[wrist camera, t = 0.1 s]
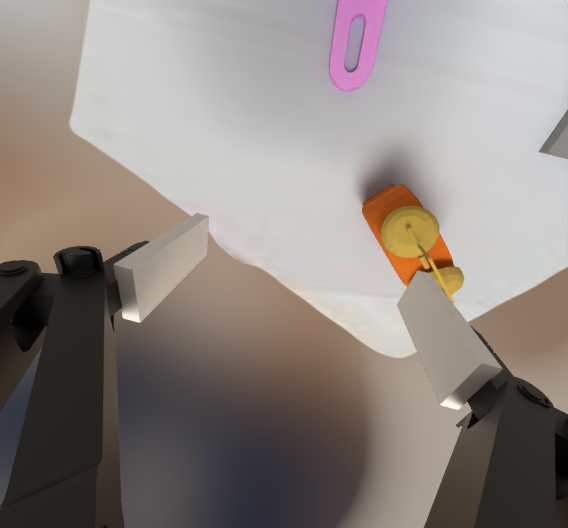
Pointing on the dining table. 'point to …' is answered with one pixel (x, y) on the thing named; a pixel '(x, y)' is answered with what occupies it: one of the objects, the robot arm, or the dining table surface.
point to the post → (558, 140)
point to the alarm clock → (411, 238)
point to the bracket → (370, 7)
